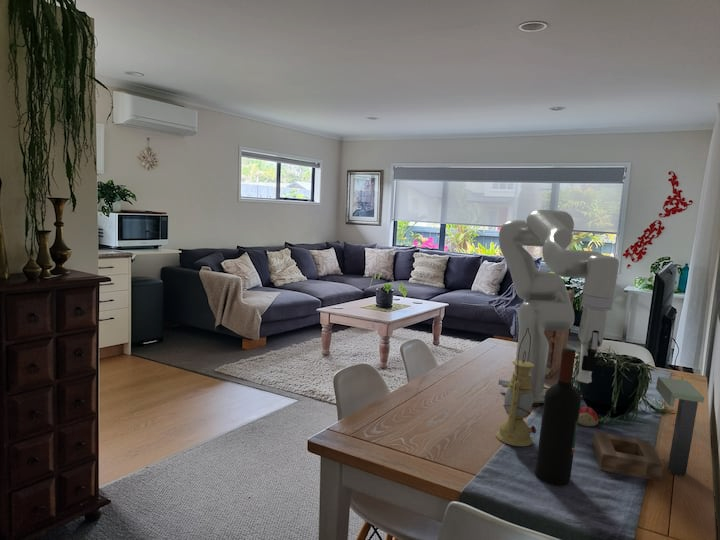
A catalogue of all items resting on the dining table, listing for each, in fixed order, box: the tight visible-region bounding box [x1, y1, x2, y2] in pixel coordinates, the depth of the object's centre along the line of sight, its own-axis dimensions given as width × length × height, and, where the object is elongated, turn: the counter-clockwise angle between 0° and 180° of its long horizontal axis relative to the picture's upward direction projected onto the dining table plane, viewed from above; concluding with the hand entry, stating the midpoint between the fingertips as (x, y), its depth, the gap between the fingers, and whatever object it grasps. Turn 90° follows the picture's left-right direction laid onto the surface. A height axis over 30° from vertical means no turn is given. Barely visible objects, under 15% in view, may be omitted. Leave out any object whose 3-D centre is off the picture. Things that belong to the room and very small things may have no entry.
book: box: [544, 289, 575, 379], centre depth 202 cm, size 25×9×30 cm, turn 147°
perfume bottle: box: [576, 341, 599, 384], centre depth 143 cm, size 5×4×15 cm
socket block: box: [591, 431, 664, 482], centre depth 130 cm, size 13×13×4 cm
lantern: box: [495, 328, 537, 447], centre depth 137 cm, size 12×10×30 cm
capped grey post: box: [655, 376, 705, 477], centre depth 127 cm, size 7×12×21 cm, turn 164°
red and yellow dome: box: [578, 406, 599, 427], centre depth 155 cm, size 7×10×4 cm
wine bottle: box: [534, 347, 582, 487], centre depth 119 cm, size 8×8×30 cm
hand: (586, 366), depth 143 cm, fingers closed on perfume bottle, 4 cm apart
